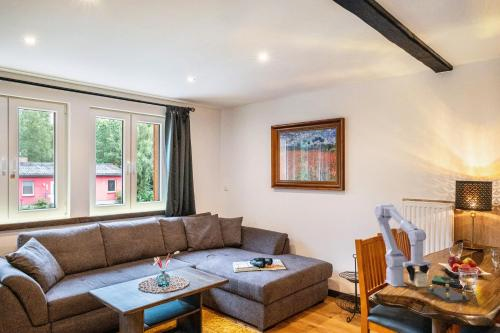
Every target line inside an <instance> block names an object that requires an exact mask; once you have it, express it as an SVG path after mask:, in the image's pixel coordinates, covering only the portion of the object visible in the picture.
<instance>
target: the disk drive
mask: <svg viewBox="0 0 500 333" xmlns="http://www.w3.org/2000/svg"><path fill="white" fill-rule="evenodd" d="M459 280H460V279H456V278H451V277H446V276H441V275H435V276H434V277H433V278H432V279H431V284H432V285H435V286H441V287H444V288H445V287H446V284H449V288H450V287H451V288H450V289H455V288H456V290H461V289H462V288H463V287H462V285H461V284H460V281H459Z"/></svg>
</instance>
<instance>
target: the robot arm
mask: <svg viewBox="0 0 500 333" xmlns="http://www.w3.org/2000/svg"><path fill="white" fill-rule="evenodd" d="M374 215H375V217H376V221H377V224H378V228H379V230H380V232H381V235H382V239H383V242H384V245H385V247H386V249H387V252H386V253H385V255H384V256H385V263H386V266H387V267H386V270H385V272H386V273H385V277H386V278H385V280H384V282H386V283H387V284H388V285H390V286H392V287H407V286H408V284H406V283H404V282H405V281H404V280H405V278H404V277H405V276H404V269H406V270H407V274H408V273H409V277H410V280H411V281H414V273H415V269H416V268H415V267H418V270H419V271H421V272H423V273H425V274H427V273H428V272H429V270H430V267H432V261H430V260H427V261H426V260H424V241H425V240H426V238H427V234H426V232H425V230H424V229H422V228H421V229H420V228H418V227H417V226H416V225H415V224H413V223H412V221H411V220H410V219H405V218H404V217H403V216H402V214H400V212H399V211H398V210H397V207H396V206H395V205H394V204H392V203H389V204H377V205H376V206H375V208H374ZM390 220H395V221H396V222H397V223H398V224H399V227H400V229H402V231H404V233H406V234H407V237H408V240H409V244H410V260H407V257H406V256H405V255H404V253H403V251H401V249H398V245H397V243H396V240H395V238H394V235H393V232H392V228H391V226H390V224H389V221H390Z"/></svg>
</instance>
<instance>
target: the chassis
mask: <svg viewBox="0 0 500 333" xmlns="http://www.w3.org/2000/svg"><path fill="white" fill-rule="evenodd" d="M434 285H435V284H432V283H431V284H429V288H426V289H425V290H426V291H427V292H428V293H430V294H432V295H433V296H435V297H437V298H439V299H441V300H443V301H444V302H446V303H463V302H465V303H466V302H472V299H471V297H468V296H467V292H466V291H462V292H461V293H460V292H458V291H455V290H453V288H450V287H449V284H446V287H445V286H444V287H435V286H434Z"/></svg>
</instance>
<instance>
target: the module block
mask: <svg viewBox="0 0 500 333" xmlns="http://www.w3.org/2000/svg"><path fill="white" fill-rule="evenodd" d="M407 281H408V282H409V283H410V284H412V285H413V286H416V287H417V288H420V287H427V286H428V274H427V273H426V274H425V273H423V272H421V271H420V269H416V268H415V273H414V281H411V280H410V277H409V273H408V272H407Z"/></svg>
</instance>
